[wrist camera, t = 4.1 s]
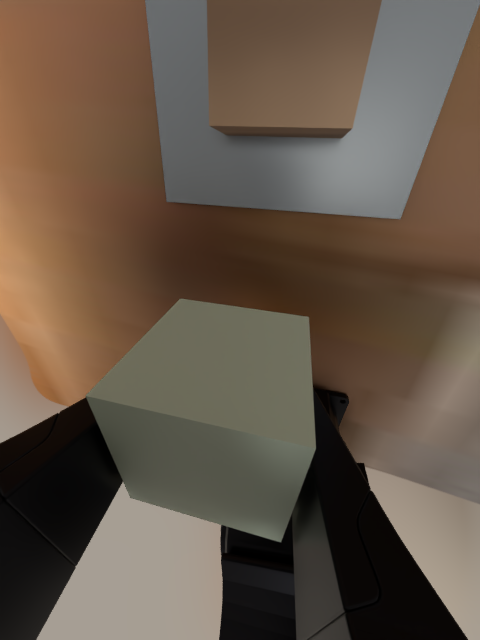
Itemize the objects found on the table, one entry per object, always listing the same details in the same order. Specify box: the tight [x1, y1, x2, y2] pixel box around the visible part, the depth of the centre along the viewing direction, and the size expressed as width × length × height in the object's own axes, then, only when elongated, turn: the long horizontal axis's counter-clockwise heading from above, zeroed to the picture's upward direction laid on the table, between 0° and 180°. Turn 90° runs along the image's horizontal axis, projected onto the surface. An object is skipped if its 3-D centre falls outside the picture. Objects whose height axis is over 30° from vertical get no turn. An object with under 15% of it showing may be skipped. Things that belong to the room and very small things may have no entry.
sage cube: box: [86, 299, 316, 542], centre depth 7 cm, size 4×4×4 cm
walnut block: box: [207, 0, 382, 138], centre depth 10 cm, size 6×6×3 cm
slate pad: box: [145, 0, 480, 219], centre depth 11 cm, size 13×14×1 cm
